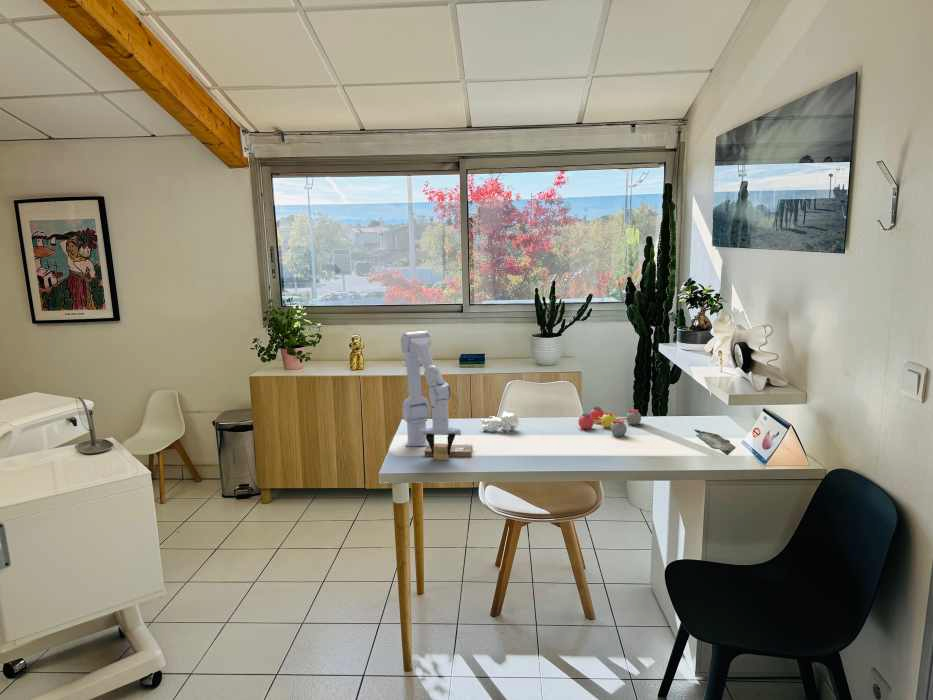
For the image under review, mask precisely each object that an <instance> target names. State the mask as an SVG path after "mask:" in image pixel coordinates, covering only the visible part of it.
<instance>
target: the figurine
mask: <svg viewBox="0 0 933 700" xmlns="http://www.w3.org/2000/svg"><path fill="white" fill-rule="evenodd" d="M481 423H482V426H481V427H482V431H483V432H487V431H490V432H491V433H492V432H493V433H495V432H496V431H498V430H499V429H501V430H505V432H506V434H509V432H510V431H512V430H515V429H517V428H518V427H519V424H520V420H519V417H518V415H517V414H516V413H513V412H507V411H506V410H504V411H503V413H502V415H501V416H500V417H497V416H491V415H489V417H488V419H484V418H481Z"/></svg>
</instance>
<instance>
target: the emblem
mask: <svg viewBox="0 0 933 700" xmlns="http://www.w3.org/2000/svg"><path fill="white" fill-rule="evenodd" d="M694 430H695V431H694ZM694 430H693V431H694V432H696V435H695V436H696V437H697V438H698V437H699V438H698V439H700V440H701V441H702V442H703V441H704V442H703V443H705V444H706V445H707V446H709V448H711V449H714V450H719V451H721V452H722V453H724V454H725V455H726V456H728V455H729V454H730V453H731V452H732V451H733V450H735V448H736V446H735V445H733V444H732V443H730V440H729V439H726V438H723V436H721V435H719V434H717V433H711V432H707V431H703V430H699V429H695V428H694ZM701 431H702V432H701ZM698 433H699V434H698Z"/></svg>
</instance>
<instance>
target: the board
mask: <svg viewBox="0 0 933 700" xmlns="http://www.w3.org/2000/svg"><path fill="white" fill-rule="evenodd" d="M472 454H473V444H452V445H451V450H450V455H449V457H472ZM424 457H434V455H432V451H431V448H430V445H429V444H427V445H426V446H425V449H424Z"/></svg>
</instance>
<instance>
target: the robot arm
mask: <svg viewBox="0 0 933 700" xmlns="http://www.w3.org/2000/svg"><path fill="white" fill-rule="evenodd" d="M431 340H432V339H431V335H430V332H429V331H427V330H423V331H411V332H410V331H409V332H403V333H402V335H401V338H400V344H401V345H400V346H401V352H402V354H404V355H405V360H406V361H405V362H406V376H407V387H408V397H407V398H406V399H404V401H403V402H402V409H401V415H402V419H403V420H404V421H405V422H406V428H407V433H406V434H407V440H406V443H405V447H427V445H430V448H431V451H432V455H434V451H433V447H434V444H435V435H436V436H441V435H442V436H444V435H445V436H447V444H448V455H450V450H451V445H453V443H454V440H455V437H456V436H462V429H461V428H454V427H450V425H449V400H450V398H451V396H452V391H451V388H450V385H449V384H448V383H447V381H446V380H444V378H443V376H442V373H441V371H440V368H439V367H438V366H436V365H435V364H434V360H433V356H432V353H431V349H430V347H431V342H432V341H431ZM420 361H421V363H422V366H423V367H424V369H425V370H424V372H423V375H424V378H425V381H426V384H427V386H428V388H429V389H428V397H429V399H430V402H429V400H428V399H427V398H426V397H424V396H423V393H422V392H423V391H422V379H421V378H422V377H421V369H420ZM429 403H430V404H429ZM430 406H431V407H430ZM431 413H432V414H431ZM430 416H432V419H431V420H432V427H427V422H428V420H429V419H430Z"/></svg>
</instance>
